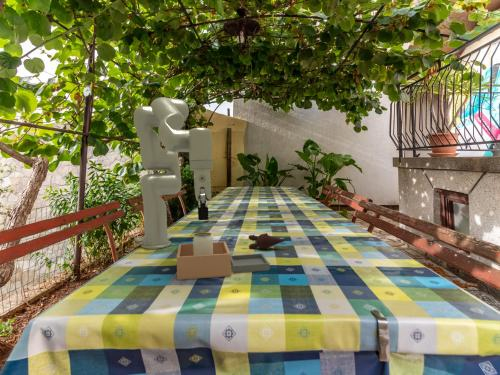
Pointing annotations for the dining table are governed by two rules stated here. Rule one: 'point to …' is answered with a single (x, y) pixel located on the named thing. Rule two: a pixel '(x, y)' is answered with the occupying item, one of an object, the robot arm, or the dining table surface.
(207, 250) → the can
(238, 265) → the tray
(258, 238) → the icecream
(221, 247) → the brown square frame
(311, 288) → the dining table surface
